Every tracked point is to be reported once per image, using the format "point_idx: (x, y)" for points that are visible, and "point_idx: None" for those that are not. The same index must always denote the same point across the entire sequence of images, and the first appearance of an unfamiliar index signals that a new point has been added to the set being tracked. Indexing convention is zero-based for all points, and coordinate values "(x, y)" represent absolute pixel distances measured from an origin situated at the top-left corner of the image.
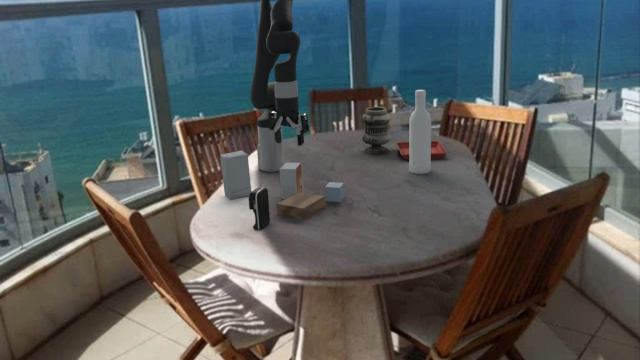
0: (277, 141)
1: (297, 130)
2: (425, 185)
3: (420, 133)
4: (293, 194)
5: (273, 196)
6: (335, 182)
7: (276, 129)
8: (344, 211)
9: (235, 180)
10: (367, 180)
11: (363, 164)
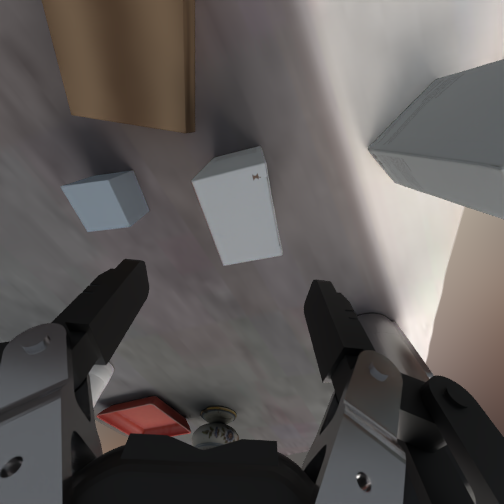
0: (321, 285)
1: (30, 372)
2: (27, 315)
3: None
4: (221, 156)
5: (294, 161)
6: (111, 228)
7: (364, 383)
8: (17, 96)
9: (467, 90)
10: (142, 315)
11: (202, 372)
